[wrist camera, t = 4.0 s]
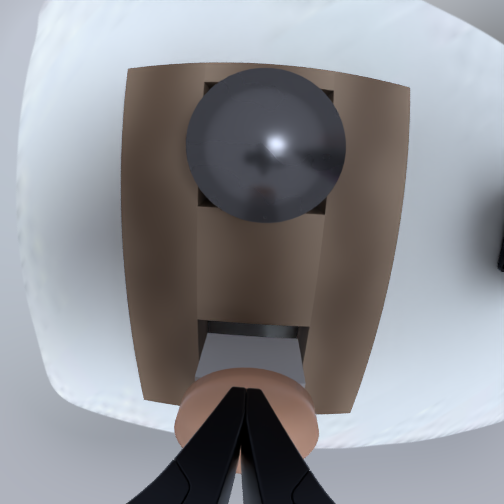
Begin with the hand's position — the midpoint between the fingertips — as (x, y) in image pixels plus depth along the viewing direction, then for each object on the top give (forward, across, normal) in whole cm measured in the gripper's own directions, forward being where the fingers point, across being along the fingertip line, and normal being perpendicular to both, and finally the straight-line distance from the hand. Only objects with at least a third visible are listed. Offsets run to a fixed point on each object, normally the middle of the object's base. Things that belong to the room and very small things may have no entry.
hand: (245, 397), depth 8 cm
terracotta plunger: (+7, 0, +5) cm, 9 cm away
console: (+11, 0, -1) cm, 11 cm away
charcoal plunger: (+11, 0, -7) cm, 13 cm away
